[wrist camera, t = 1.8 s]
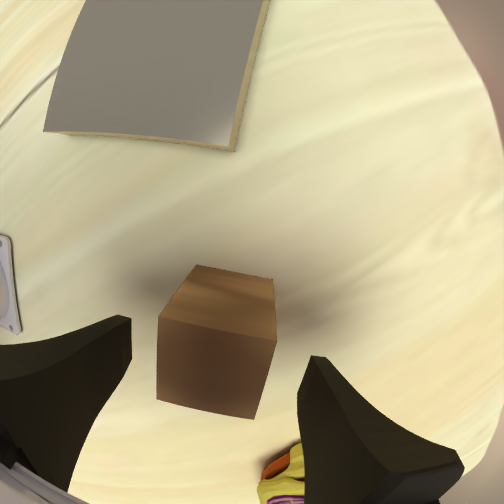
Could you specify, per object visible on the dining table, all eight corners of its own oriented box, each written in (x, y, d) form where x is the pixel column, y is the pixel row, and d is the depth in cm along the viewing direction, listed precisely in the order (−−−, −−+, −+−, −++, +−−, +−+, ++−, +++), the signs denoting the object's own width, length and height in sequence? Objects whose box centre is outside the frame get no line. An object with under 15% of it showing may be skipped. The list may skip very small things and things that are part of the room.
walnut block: (188, 330, 16) (156, 399, 10) (196, 264, 15) (158, 316, 9) (257, 343, 16) (254, 419, 10) (272, 279, 15) (277, 340, 9)
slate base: (74, 135, 14) (43, 131, 11) (117, -2, 11) (98, -23, 8) (235, 152, 14) (228, 146, 11) (272, -4, 11) (273, -33, 9)
